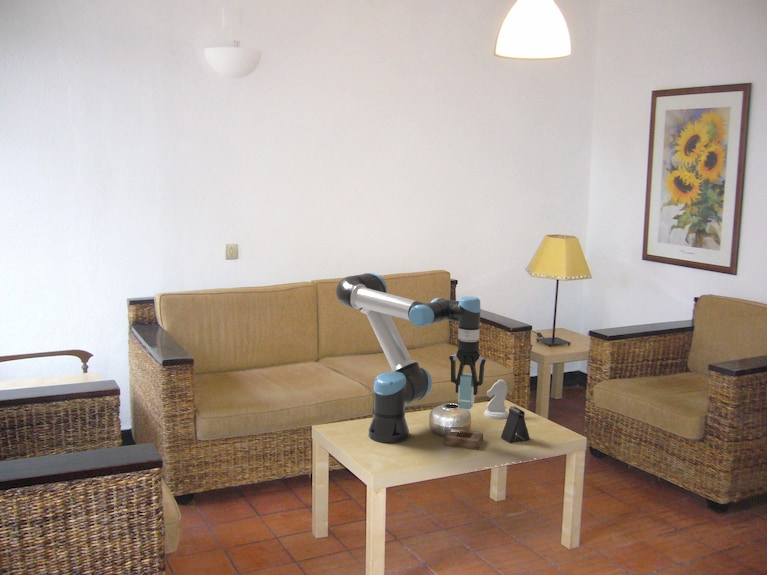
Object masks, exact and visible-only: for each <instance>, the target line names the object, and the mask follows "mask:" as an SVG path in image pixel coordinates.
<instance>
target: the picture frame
mask: <svg viewBox="0 0 767 575" xmlns="http://www.w3.org/2000/svg"><path fill="white" fill-rule="evenodd" d="M525 416H526V413H525V411H524V410H523V409H520V408H518V407H516V405H513V406H510V407H509V408H508V417H507V418H506V420H505V421H506V422H505V425H504V427H503V429H502V433H501V435H500V438H501V439H502V440H504V441H506V442H507V443H509V444H515V443H520V442H521V443H523V442H528V441H531V438H530V434H529V431H528V426H527V423H526V420H525Z"/></svg>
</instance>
